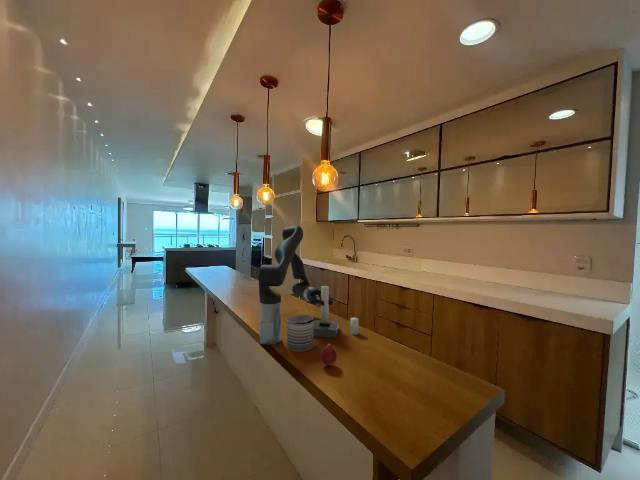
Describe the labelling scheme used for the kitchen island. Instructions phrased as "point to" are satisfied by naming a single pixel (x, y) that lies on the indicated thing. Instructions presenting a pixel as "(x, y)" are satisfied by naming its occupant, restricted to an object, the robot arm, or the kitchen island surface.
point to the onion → (328, 355)
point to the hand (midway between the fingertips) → (327, 303)
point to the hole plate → (325, 329)
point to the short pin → (354, 326)
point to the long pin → (325, 304)
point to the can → (300, 332)
